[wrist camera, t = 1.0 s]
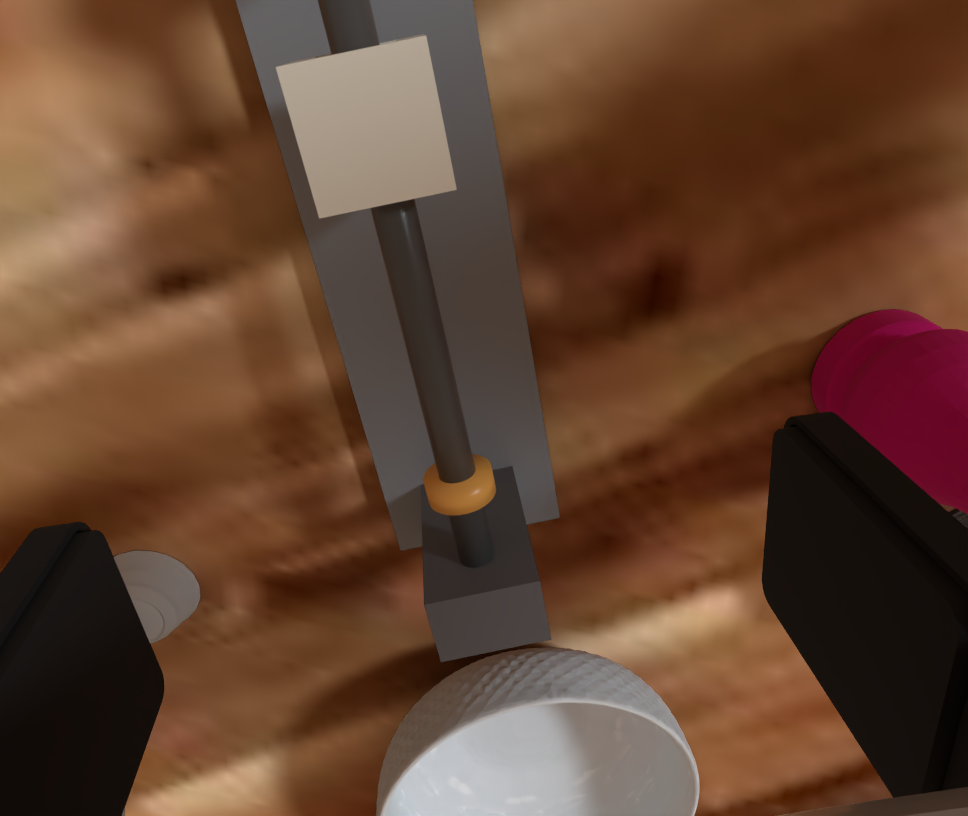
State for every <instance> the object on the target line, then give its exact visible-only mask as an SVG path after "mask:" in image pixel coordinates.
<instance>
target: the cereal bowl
mask: <svg viewBox="0 0 968 816" xmlns="http://www.w3.org/2000/svg"><path fill="white" fill-rule="evenodd" d="M698 798H699V775H698V770H697V766H696V762H695V759H694V757H693V754H692V752H691V749H690V747H689V745H688V743H687V741H686V738H685V736H684V734H683V732H682V730H681V729H680V727H679V725H678V723H677V721H676V719H675V717H674V716H673V715H672V713H671V712H670V710H669V708H668V706H667V705H666V704H665V703H664V702H663V701H662V699H661V697H660V696H659V695H658V694H657V693H655V692H654V690H653V689H652V688H651V687H650V686H649V685H647V684H646V683H645V682H644V681H643V680H642V679H641V678H640V677H638V676H637V675H635V674H633V673H632V672H631V671H630V670H629V669H626V668H624V667H623V666H621V665H620V664H618V663H615V662H613V661H611V660H609V659H607V658H604V657H601V656H599V655H594V654H590V653H587V652H585V651H579V650H572V649H564V648H553V647H548V648H531V649H530V648H527V649H519V650H516V651H508V652H502V653H500V654H498V655H493V656H490V657H485V658H484V659H480V660H478V661H477V662H474V663H471V664H469V665H467V666H465V667H463V668H461V669H460V670H458V671H455V672H454V673H453V674H451V675H450V676H448V677H446V678H445V679H443V680H442V681H441V682H440V683H438V684H437V685H435V686H434V687H433V688H432V689H431V690H430V691H429V692H427V693H426V694H425V695H424V696H422V698H421V699H420V700H419V701H418V702H417V703H416V704H414V705H413V707H412V709H411V710H410V711H409V712H408V713H407V714H406V716H405V717H404V719H403V721H402V722H401V723H400V724H399V726H398V728H397V731H396V733H395V734H394V735H393V736H392V740H391V743H390V745H389V747H388V748H387V752H386V756H385V758H384V760H383V765H382V769H381V771H380V780H379V783H378V797H377V801H376V804H377V811H376V816H694V814H695V811H696V808H697V804H698Z"/></svg>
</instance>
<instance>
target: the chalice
mask: <svg viewBox="0 0 968 816" xmlns="http://www.w3.org/2000/svg"><path fill="white" fill-rule="evenodd" d="M114 559H115V562H116V564H117V567H118V569H119V571H120V574H121V576H122V578H123V581H124V583H125V585H126V588H127V590H128V593H129V595H130V597H131V600H132V602H133V604H134V607H135V609H136V611H137V614H138V616H139V618H140V621H141V623H142V626H143V628H144V630H145V633H146V635H147V637H148V640H149V642H150V644H151V643H154V642H157V641H159V640H161V639H163V638H165V637H166V636H168V635H169V634H170V633H171V632H172V630H174V629H175V628H177V627H178V626H179V625H180V624H181V623H182V622H183V621H184V620H186V619H188V618H189V617H190V616H191V614H192V613H193V612H194V611H195V610H196V609H197V606H198V603H199V600H200V587H199V584H198V582H197V580H196V578H195V576H194V574H193V573H192V572H191V571H190V570H189V569H188V568H187V567H186V566H185V565H184V564H183V563H181V562H179V561H178V560H176V559H174V558H172V557H170V556H168V555H165V554H161V553H157V552H153V551H131V552H126V553H122V554H118V555H116V556H115V557H114ZM122 816H125V808H124V811H123V813H122Z"/></svg>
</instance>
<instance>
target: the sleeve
mask: <svg viewBox="0 0 968 816" xmlns="http://www.w3.org/2000/svg"><path fill="white" fill-rule="evenodd" d="M276 70H277V74H278V77H279V81H280V84H281V88H282V91H283V95H284V98H285V102H286V105H287V108H288V112H289V115H290V119H291V122H292V126H293V129H294V133H295V136H296V140H297V143H298V147H299V150H300V154H301V157H302V161H303V164H304V167H305V171H306V174H307V178H308V181H309V185H310V188H311V192H312V195H313V199H314V202H315V206H316V209H317V213H318V216H319V219H320V218H325V217H329V216H334V215H339V214H344V213H349V212H353V211H358V210H363V209H368V208H373V207H377V206H382V205H387V204H392V203H396V202H401V201H406V200H411V199H416V198H420V197H425V196H430V195H435V194H440V193H444V192H449V191H454V190H457V188H456V183H455V178H454V173H453V168H452V163H451V158H450V153H449V148H448V143H447V138H446V133H445V128H444V123H443V118H442V113H441V108H440V102H439V97H438V92H437V87H436V82H435V77H434V72H433V67H432V62H431V57H430V52H429V47H428V42H427V37H426V35H424V34H421V35H416V36H411V37H406V38H402V39H397V40H392V41H387V42H383V43H380V45H376V46H371V47H366V48H362V49H357V50H352V51H347V52H343V53H338V54H333V55H331V53H330V54H325V55H321V56H316V57H311V58H306V59H302V60H297V61H293V62H290V63H287V64H284V65H280V66H277V67H276Z"/></svg>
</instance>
